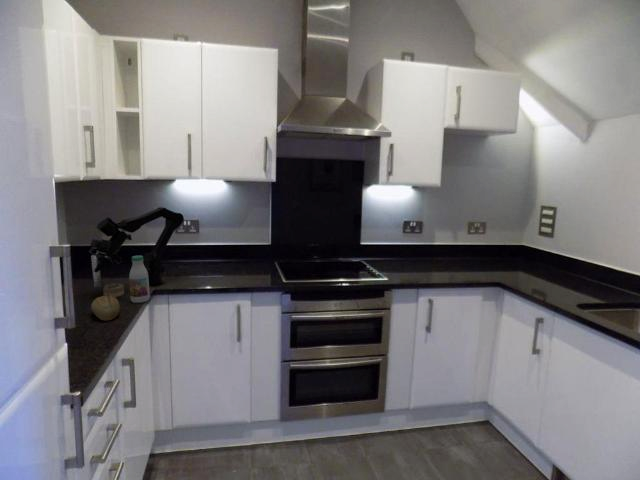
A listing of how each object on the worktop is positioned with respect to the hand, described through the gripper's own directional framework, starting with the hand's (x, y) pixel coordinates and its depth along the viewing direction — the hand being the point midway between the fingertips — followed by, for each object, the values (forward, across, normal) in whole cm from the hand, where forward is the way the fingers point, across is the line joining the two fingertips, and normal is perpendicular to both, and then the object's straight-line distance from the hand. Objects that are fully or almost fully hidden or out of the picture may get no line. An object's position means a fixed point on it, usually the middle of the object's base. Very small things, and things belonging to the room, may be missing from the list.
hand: (93, 271), depth 177 cm
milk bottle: (+2, +17, +17) cm, 24 cm away
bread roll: (+15, +23, +4) cm, 28 cm away
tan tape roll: (+4, +1, +15) cm, 15 cm away
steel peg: (+4, 0, +6) cm, 7 cm away
